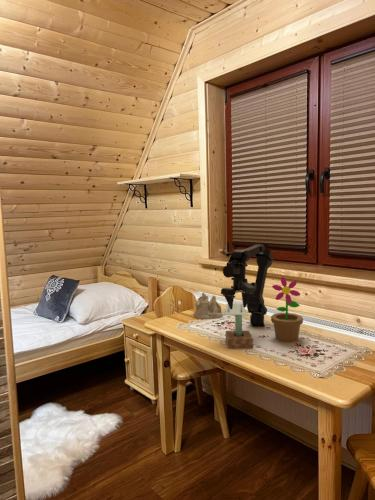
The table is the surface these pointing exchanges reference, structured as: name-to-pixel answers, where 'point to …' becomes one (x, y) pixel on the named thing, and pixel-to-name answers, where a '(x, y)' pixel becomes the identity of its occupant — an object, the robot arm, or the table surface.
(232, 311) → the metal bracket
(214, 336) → the table surface
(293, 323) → the flowerpot
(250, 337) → the hole block
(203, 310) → the ceramic cottage
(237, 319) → the peg
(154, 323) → the table surface
